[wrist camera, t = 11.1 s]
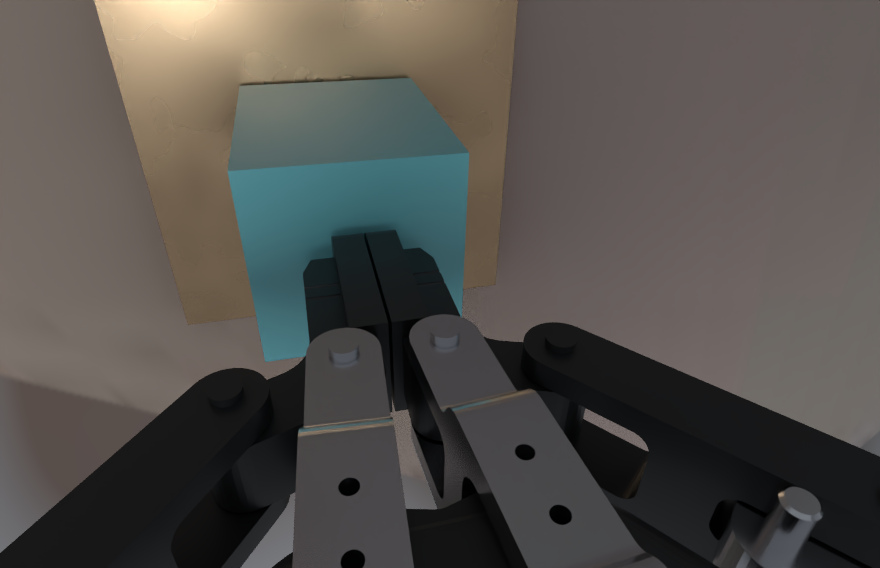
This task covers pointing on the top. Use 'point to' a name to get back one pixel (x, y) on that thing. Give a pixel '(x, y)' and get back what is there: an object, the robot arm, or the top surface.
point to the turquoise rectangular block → (339, 187)
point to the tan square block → (296, 61)
